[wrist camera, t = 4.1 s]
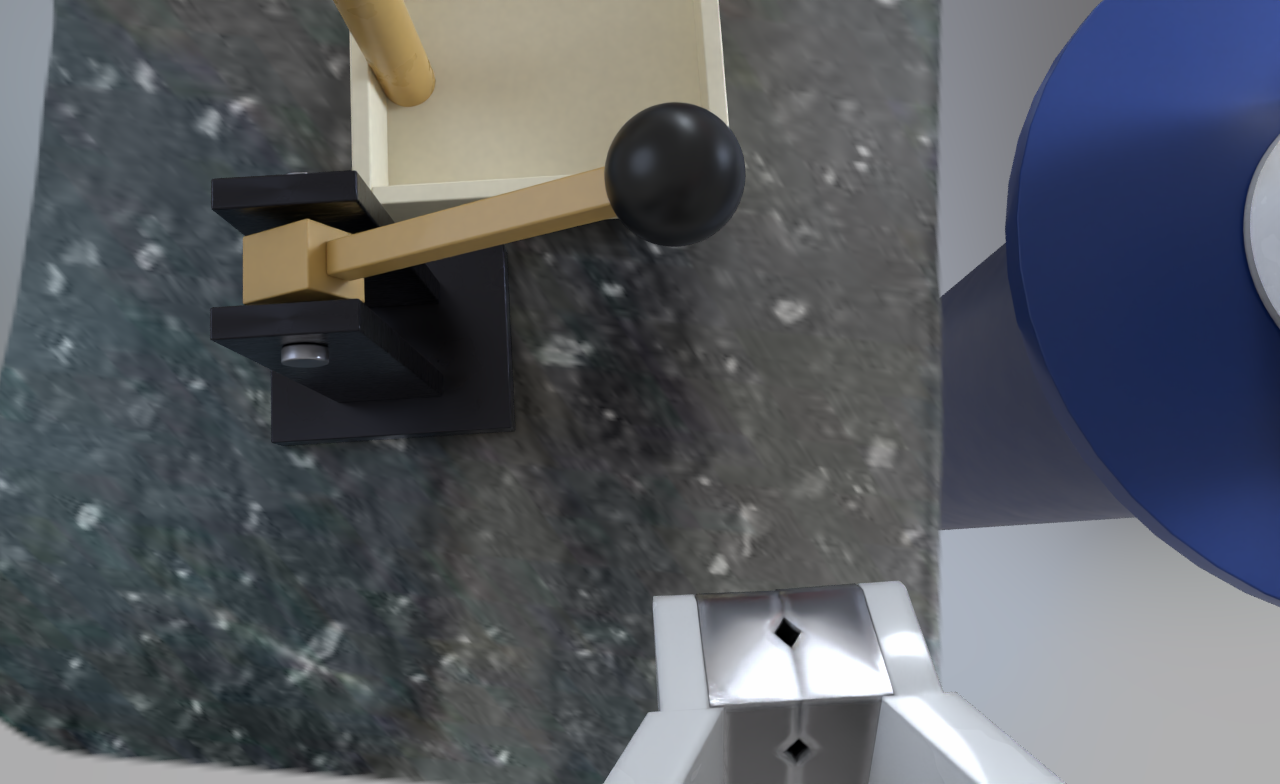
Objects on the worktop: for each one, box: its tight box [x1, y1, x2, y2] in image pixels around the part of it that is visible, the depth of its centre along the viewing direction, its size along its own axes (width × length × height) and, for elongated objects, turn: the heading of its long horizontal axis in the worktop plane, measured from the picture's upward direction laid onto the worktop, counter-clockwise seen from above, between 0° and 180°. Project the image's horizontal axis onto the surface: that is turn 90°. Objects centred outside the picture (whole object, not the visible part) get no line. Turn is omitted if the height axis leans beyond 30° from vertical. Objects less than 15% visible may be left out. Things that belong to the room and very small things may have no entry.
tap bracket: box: [210, 170, 515, 446], centre depth 36 cm, size 10×8×14 cm
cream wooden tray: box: [349, 0, 729, 223], centre depth 43 cm, size 16×14×4 cm
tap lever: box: [243, 102, 746, 305], centre depth 28 cm, size 16×4×4 cm, turn 93°
